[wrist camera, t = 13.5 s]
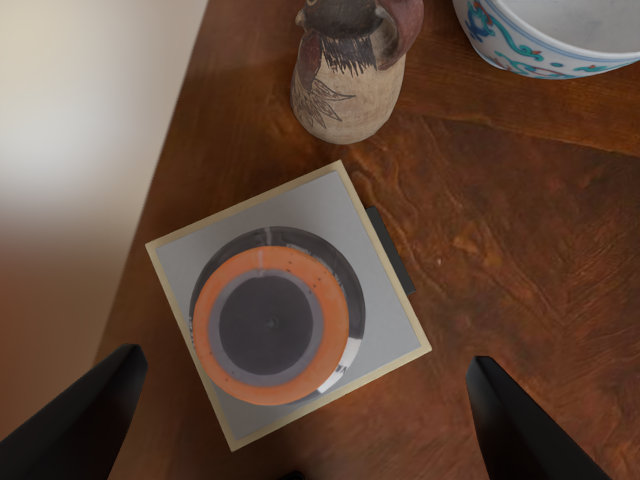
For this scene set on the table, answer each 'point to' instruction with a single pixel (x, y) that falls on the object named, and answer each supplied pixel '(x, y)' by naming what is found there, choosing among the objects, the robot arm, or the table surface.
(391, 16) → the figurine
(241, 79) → the table surface
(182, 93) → the table surface
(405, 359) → the scale
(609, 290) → the table surface
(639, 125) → the table surface
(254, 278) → the pill bottle
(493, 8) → the chinaware
